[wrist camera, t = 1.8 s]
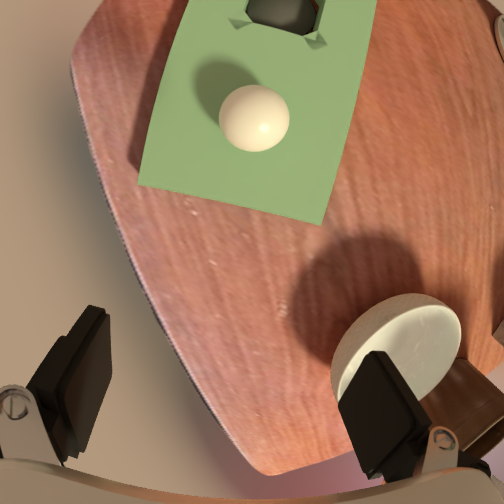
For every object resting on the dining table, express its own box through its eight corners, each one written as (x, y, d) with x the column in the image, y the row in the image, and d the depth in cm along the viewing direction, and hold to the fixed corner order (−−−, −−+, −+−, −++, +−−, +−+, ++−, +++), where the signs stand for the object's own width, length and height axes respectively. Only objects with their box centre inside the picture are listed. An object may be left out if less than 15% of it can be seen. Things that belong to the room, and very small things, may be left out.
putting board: (213, -38, 17) (213, -51, 15) (367, 5, 20) (377, -4, 17) (145, 180, 25) (137, 184, 23) (313, 218, 28) (320, 225, 25)
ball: (228, 85, 21) (228, 69, 16) (289, 100, 21) (304, 90, 17) (213, 143, 22) (208, 142, 17) (274, 158, 23) (285, 161, 18)
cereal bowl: (424, 361, 37) (446, 391, 30) (323, 397, 37) (336, 435, 30) (439, 261, 31) (474, 286, 24) (313, 296, 31) (334, 335, 24)
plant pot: (395, 389, 38) (438, 467, 23) (473, 329, 36) (531, 389, 21) (412, 424, 43) (444, 484, 28) (476, 376, 41) (517, 428, 26)
